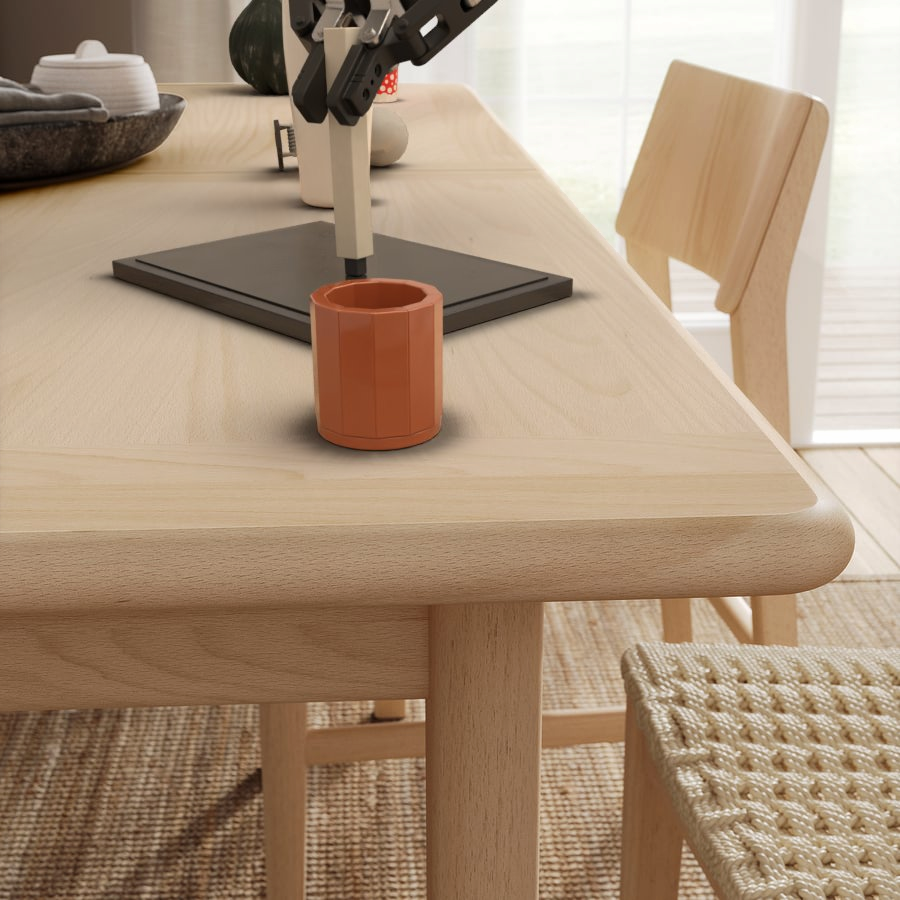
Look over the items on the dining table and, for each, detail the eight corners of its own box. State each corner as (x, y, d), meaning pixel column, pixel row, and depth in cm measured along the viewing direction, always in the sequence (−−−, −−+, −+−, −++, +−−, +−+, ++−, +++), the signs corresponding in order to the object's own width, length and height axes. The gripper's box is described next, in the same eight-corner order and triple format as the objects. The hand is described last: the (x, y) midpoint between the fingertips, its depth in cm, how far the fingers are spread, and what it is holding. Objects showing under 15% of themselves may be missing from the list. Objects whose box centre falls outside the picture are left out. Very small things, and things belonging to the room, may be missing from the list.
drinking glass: (273, 202, 90) (262, -6, 85) (343, 191, 95) (336, -8, 89) (327, 215, 86) (318, -4, 80) (397, 203, 90) (394, -6, 84)
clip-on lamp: (297, 181, 115) (265, 170, 97) (289, 115, 114) (256, 91, 96) (416, 170, 115) (406, 156, 97) (409, 103, 114) (398, 77, 96)
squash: (326, 44, 172) (259, -38, 163) (371, 56, 161) (301, -32, 151) (261, 114, 172) (190, 36, 162) (302, 131, 160) (228, 47, 151)
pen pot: (292, 426, 47) (284, 294, 45) (383, 396, 51) (380, 271, 48) (374, 461, 44) (371, 320, 42) (466, 426, 47) (467, 294, 45)
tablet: (113, 276, 69) (111, 258, 69) (321, 234, 80) (321, 218, 79) (358, 359, 55) (357, 337, 55) (573, 295, 66) (573, 276, 65)
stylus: (337, 275, 65) (322, 28, 61) (353, 270, 67) (340, 27, 62) (358, 277, 65) (345, 27, 60) (374, 272, 66) (362, 27, 61)
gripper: (317, -183, 66) (184, 59, 61) (532, -200, 59) (402, 70, 54) (374, -78, 72) (257, 150, 67) (574, -82, 66) (461, 170, 61)
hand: (323, 113), depth 61 cm, fingers closed on stylus
